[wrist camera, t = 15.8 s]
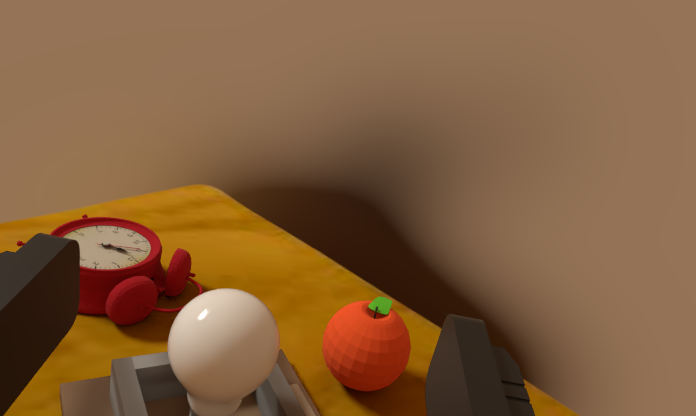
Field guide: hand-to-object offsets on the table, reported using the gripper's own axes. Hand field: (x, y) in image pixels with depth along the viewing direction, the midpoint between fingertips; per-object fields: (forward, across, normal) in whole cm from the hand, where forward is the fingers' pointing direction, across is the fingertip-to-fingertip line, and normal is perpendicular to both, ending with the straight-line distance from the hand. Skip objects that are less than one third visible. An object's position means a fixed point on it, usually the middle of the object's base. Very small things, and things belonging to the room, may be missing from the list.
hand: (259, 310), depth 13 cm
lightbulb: (+17, +3, +23) cm, 29 cm away
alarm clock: (+32, +15, +24) cm, 43 cm away
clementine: (+27, -7, +24) cm, 37 cm away
